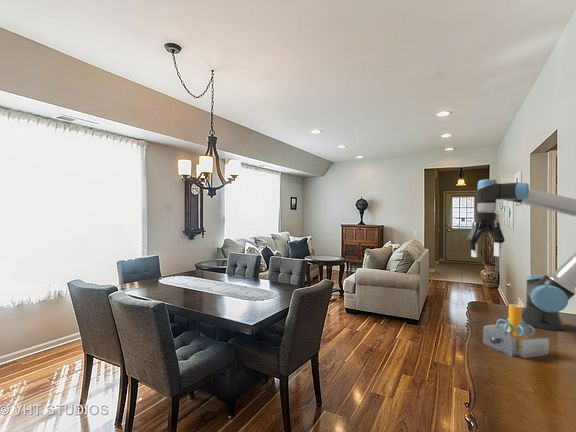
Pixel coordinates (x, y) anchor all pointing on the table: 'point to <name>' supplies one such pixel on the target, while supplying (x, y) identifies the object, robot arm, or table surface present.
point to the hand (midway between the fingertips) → (485, 256)
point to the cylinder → (515, 323)
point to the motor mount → (514, 343)
